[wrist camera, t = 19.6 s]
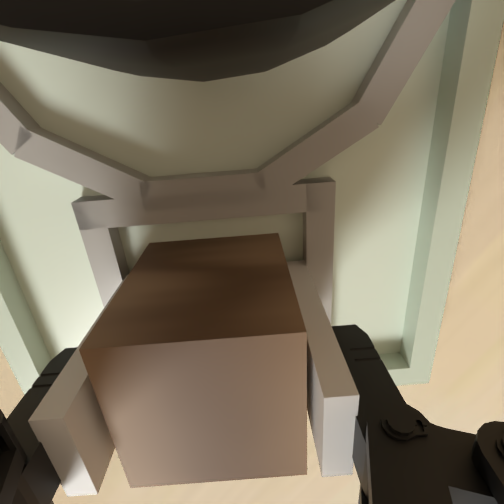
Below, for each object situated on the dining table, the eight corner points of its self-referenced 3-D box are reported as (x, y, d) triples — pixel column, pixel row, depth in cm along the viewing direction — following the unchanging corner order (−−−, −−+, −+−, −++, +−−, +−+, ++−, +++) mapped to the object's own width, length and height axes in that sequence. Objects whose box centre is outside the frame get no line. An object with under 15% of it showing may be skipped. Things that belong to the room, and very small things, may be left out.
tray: (58, 377, 17) (34, 414, 15) (-395, -677, 6) (-715, -1069, 4) (406, 349, 17) (429, 383, 15) (583, -766, 6) (758, -1209, 4)
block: (171, 344, 15) (130, 487, 9) (149, 242, 13) (78, 349, 7) (282, 336, 15) (306, 474, 9) (278, 232, 13) (306, 332, 7)
